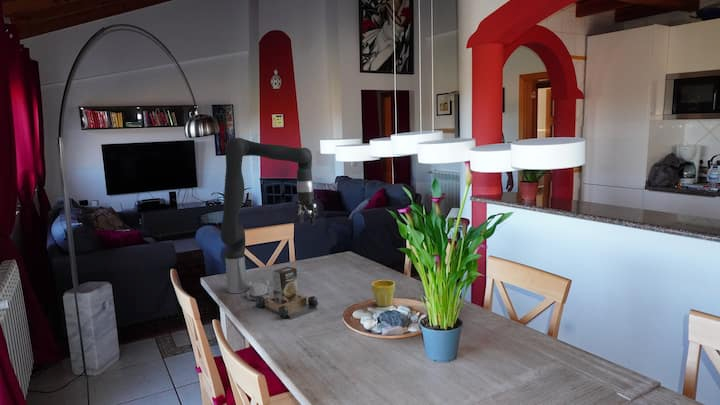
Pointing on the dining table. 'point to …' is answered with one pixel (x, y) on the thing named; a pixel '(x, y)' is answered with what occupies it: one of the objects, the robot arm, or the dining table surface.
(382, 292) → the plant pot
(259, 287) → the car model
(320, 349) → the dining table surface
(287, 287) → the coffee box
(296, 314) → the chassis
